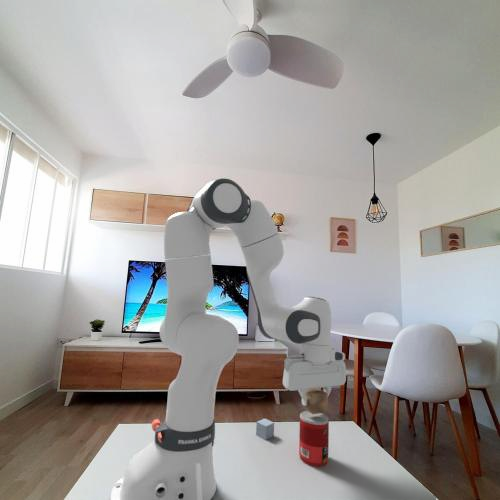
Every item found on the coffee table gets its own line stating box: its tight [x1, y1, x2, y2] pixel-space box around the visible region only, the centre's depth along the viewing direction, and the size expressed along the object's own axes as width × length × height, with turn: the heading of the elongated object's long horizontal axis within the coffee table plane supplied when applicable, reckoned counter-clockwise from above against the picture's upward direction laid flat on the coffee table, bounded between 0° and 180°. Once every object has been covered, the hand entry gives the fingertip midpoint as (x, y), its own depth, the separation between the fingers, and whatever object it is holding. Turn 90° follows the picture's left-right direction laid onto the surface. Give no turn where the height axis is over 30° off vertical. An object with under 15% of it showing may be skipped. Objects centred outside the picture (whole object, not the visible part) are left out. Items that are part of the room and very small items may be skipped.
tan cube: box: [301, 388, 329, 414], centre depth 81 cm, size 5×5×5 cm
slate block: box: [255, 418, 275, 441], centre depth 90 cm, size 4×4×4 cm
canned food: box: [298, 410, 330, 467], centre depth 79 cm, size 8×8×11 cm
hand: (314, 403), depth 81 cm, fingers closed on tan cube, 5 cm apart
